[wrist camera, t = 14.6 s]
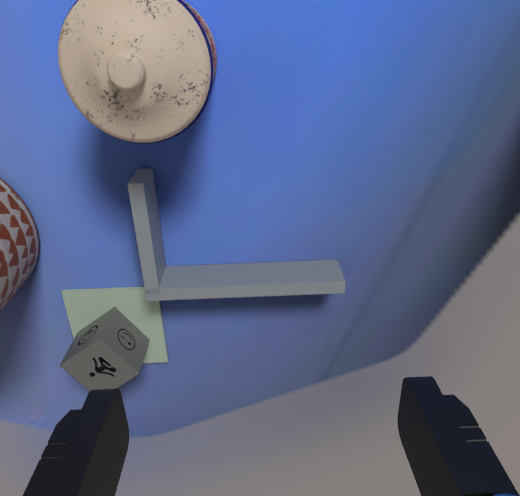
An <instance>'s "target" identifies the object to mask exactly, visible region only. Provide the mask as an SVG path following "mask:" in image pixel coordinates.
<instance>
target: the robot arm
mask: <svg viewBox="0 0 520 496" xmlns="http://www.w3.org/2000/svg"><path fill="white" fill-rule="evenodd" d="M398 430H399V435H400V439H401V442H402V445H403V447H404V450H405V453H406V455H407V458H408V461H409V464H410V466H411V469H412V471H413V474H414V477H415V480H416V483H417V485H418V488H419V490H420V493H421V496H519V494H518V492H517V491H516V489H515V487H514V486H513V484H512V482H511V480H510V479H509V477H508V475H507V473H506V472H505V470H504V468H503V466H502V465H501V463H500V461H499V460H498V458H497V456H496V455H495V453H494V451H493V449H492V447H491V446H490V444H489V442H487V441H486V437H485V435H484V433H483V432H482V430H481V428H479V426H478V423H477V422H476V420H475V418H474V416H473V415H472V413H471V411H470V409H469V408H468V407H467V406H465V404H463V403H462V402H461V401H460V400H459V399H458V398H457V397H456V396H454V395H443V394H442V393H441V391H440V389H439V387H438V385H437V383H436V381H435V380H434V378H433V377H408V378H404V379H403V383H402V390H401V398H400V404H399V411H398ZM128 444H129V428H128V423H127V418H126V413H125V409H124V404H123V400H122V395H121V392H120V390H119V389H96V390H91V391H90V392H89V394H88V396H87V398H86V400H85V403H84V405H83V407H82V409H81V410H70V411H69V412H68V413H67V414H66V415H65V416H64V417H63V418H62V420H61V421H60V422H59V423H58V424H57V425H56V426H55V429H54V431H53V433H52V435H51V437H50V439H49V441H48V446H46V448H45V450H44V452H43V454H42V456H41V457H42V458H41V460H39V462H38V465H37V467H36V469H35V471H34V473H33V475H32V477H31V479H30V481H29V484H28V486H27V488H26V490H25V492H24V494H23V496H115V493H116V489H117V486H118V482H119V479H120V475H121V471H122V468H123V464H124V461H125V457H126V454H127V449H128Z"/></svg>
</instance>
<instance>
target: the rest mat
mask: <svg viewBox="0 0 520 496" xmlns="http://www.w3.org/2000/svg"><path fill="white" fill-rule="evenodd" d="M61 292H62V296H63V299H64V303H65V307H66V311H67V315H68V319H69V322H70V326H71V330H72V334H73V338H75V336H76V334H77V333H78V332H79V331H80V330H81V329H83V328H84V327H86V326H87V325H89V324H90V323H91V322H93V321H94V320H96V319H97V318H99V317H100V316H102V315H103V314H104V313H106V312H107V311H109V310H110V309H112V308H113V307H116V308H117V309H118V310H119V311H120V312H121V313H122V314H123V315H124V316H125V317H126V318H128V319H129V320H130V321H131V322H132V323H133V324H134V325H135V326H136V327H137V328H138V329H139V330H140V331H141V332H142V333H143V334H144V335H145V336H147V337H148V338H149V339H150V341H149V344H148V348H147V351H146V354H145V357H144V361H143V363H164V362H168V354H167V347H166V340H165V334H164V327H163V321H162V314H161V307H160V301H147V300H146V294H145V288H144V287H121V288H96V289H71V290H62V291H61Z"/></svg>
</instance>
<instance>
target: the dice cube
mask: <svg viewBox="0 0 520 496" xmlns="http://www.w3.org/2000/svg"><path fill="white" fill-rule="evenodd" d="M149 341H150V339H149V338H148V337H147V336H145V335H144V334H143V333H142V332H141V331H140V330H139V329H138V328H137V327H136V326H135V325H134V324H133V323H132V322H131V321H130V320H129V319H128V318H126V317H125V316H124V315H123V314H122V313H121V312H120V311H119V310H118V309H117V308H116V307H113V308H112V309H110V310H109V311H107V312H106V313H104V314H103V315H102V316H100V317H99V318H97V319H96V320H94V321H93V322H91V323H90V324H89V325H87V326H86V327H84V328H83V329H81V330H80V331H79V332H78V333H77V334H76V336H75V338H74V340H73V342H72V344H71V345H70V347H69V349H68V351H67V353H66V355H65V356H64V358H63V360H62V362H61V364H60V367H62V368H63V369H64V370H65V371H66V372H68V373H69V374H70V375H71V376H72V377H74V378H75V379H76V380H77V381H78V382H80V383H81V384H82V385H83V386H84V387H86V388H87V389H88V390H89V391H91V390H96V389H116V388H118V387H119V386H121V385H123V384H124V383H126V382H127V381H129V380H131V379H132V378H134V377H135V376H137V375H138V374H140V370H141V367H142V364H143V361H144V357H145V354H146V351H147V348H148V344H149Z"/></svg>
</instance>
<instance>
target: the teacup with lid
mask: <svg viewBox="0 0 520 496" xmlns="http://www.w3.org/2000/svg"><path fill="white" fill-rule="evenodd" d="M58 61H59V68H60V73H61V77H62V80H63V83H64V85H65V88H66V90H67V92H68V94H69V96H70V98H71V100H72V101H73V103H74V104H75V106H76V107H77V108H78V110H79V111H80V112H81V113H82V114H83V115H84V116H85V117H86V118H87V119H88V120H89V121H90V122H91V123H92V124H93V125H95V126H96V127H97V128H99V129H100V130H102V131H104V132H105V133H107V134H109V135H111V136H113V137H115V138H118V139H121V140H124V141H128V142H134V143H156V142H161V141H165V140H168V139H170V138H173V137H175V136H177V135H179V134H180V133H182V132H183V131H185V130H186V129H187V128H189V127H190V126H191V125H192V124H193V123H194V122H195V121H196V119H197V118H198V117H199V116H200V114H201V113H202V111H203V109H204V108H205V106H206V104H207V101H208V99H209V96H210V93H211V89H212V84H213V81H214V78H215V74H216V68H217V52H216V46H215V42H214V39H213V36H212V33H211V31H210V29H209V27H208V25H207V24H206V22H205V21H204V19H203V18H202V17H201V15H200V14H199V13H198V12H197V11H196V10H195V9H194V8H193V7H192V6H190V5H189V4H188V3H186V2H185V1H183V0H77V1H76V2H75V4H74V5H73V6H72V8H71V9H70V11H69V12H68V14H67V16H66V18H65V20H64V23H63V25H62V29H61V32H60V37H59V45H58Z"/></svg>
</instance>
